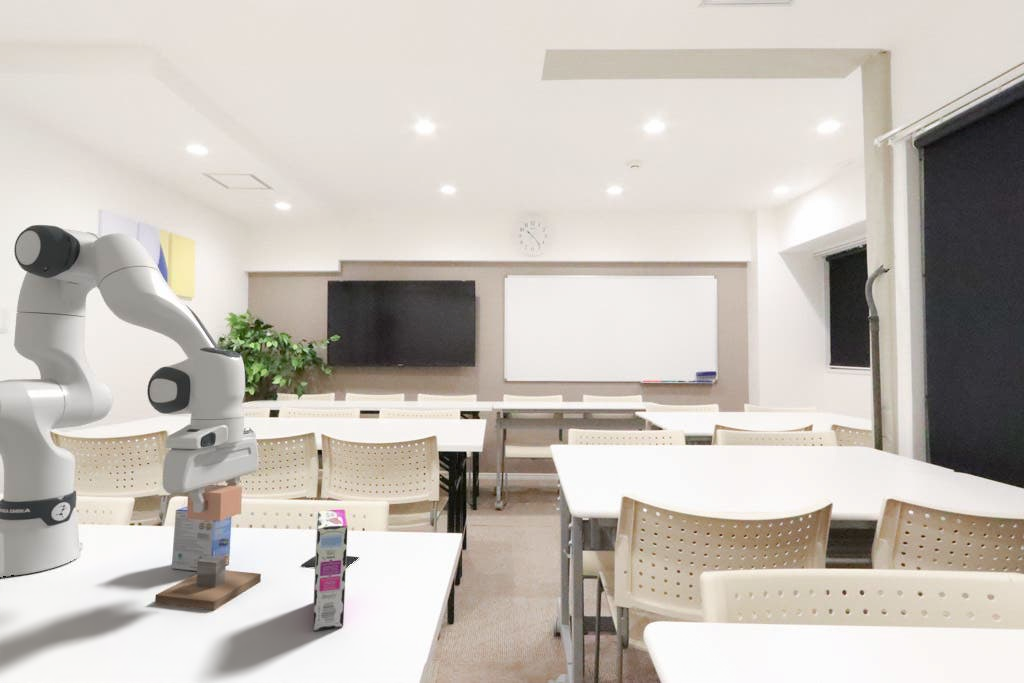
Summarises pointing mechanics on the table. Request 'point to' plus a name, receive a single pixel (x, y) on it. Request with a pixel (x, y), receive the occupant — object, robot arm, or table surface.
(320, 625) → the candy bar box
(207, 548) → the ink cartridge box
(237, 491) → the salmon rectangular block
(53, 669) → the table surface
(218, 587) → the base
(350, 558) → the solid state drive
